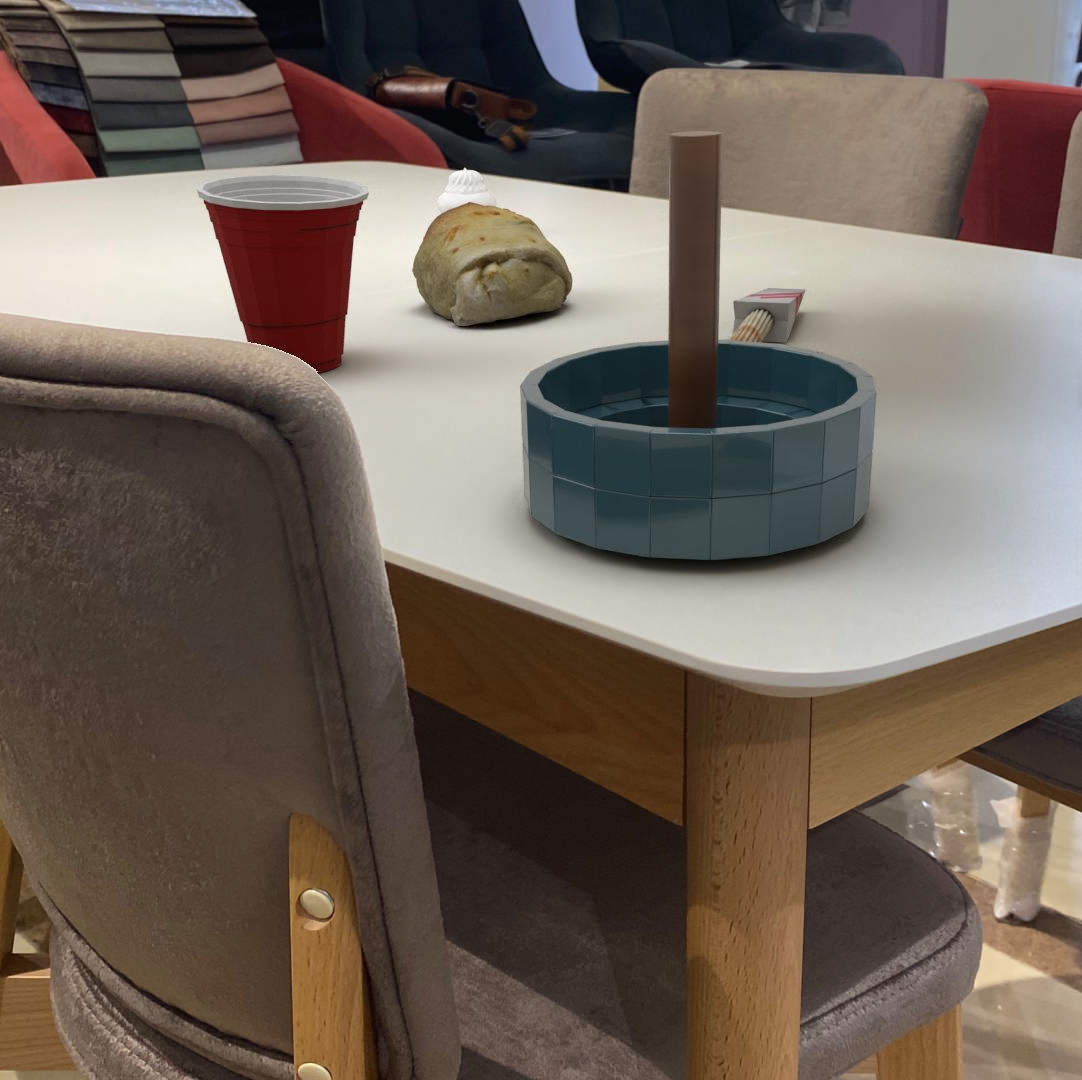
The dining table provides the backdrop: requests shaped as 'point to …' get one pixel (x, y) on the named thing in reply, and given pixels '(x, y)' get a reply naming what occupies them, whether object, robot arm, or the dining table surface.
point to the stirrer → (694, 277)
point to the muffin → (465, 191)
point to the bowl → (698, 452)
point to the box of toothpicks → (766, 315)
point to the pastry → (489, 266)
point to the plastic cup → (288, 258)
